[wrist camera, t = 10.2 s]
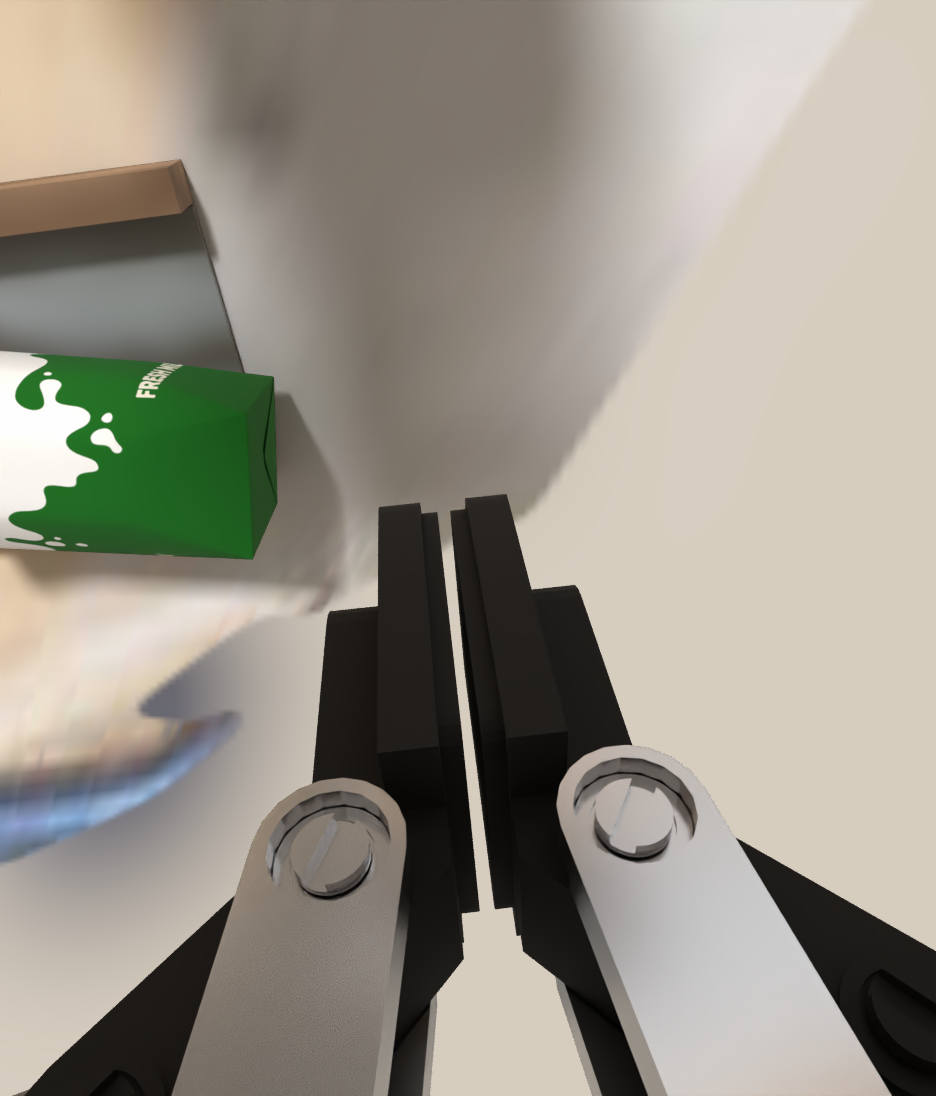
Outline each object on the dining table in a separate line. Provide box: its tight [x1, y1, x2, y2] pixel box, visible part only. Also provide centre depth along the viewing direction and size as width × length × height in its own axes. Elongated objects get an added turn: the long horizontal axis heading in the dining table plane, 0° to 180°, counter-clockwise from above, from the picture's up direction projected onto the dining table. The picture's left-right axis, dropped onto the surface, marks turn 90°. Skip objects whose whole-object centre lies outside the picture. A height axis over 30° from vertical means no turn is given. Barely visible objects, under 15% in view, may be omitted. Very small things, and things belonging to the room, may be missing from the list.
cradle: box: [0, 159, 243, 373], centre depth 37 cm, size 17×18×2 cm
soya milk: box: [0, 351, 277, 559], centre depth 36 cm, size 9×9×20 cm
